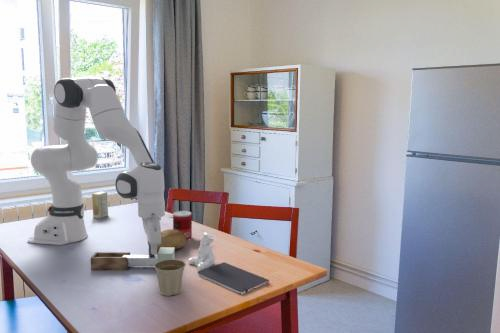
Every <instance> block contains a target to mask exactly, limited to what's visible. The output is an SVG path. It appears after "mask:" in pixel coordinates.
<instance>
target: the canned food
mask: <svg viewBox="0 0 500 333" xmlns="http://www.w3.org/2000/svg"><path fill="white" fill-rule="evenodd" d="M192 216H193V215H192V212H191V211H188V210H178V211H175V212H173V214H172V229H174V230H179V231H181V232H183V233H184V234H185V236H186V242H187V241H190V240H192V236H193V234H192V232H193V229H192V228H193V226H192V225H193V220H192Z"/></svg>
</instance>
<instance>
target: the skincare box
mask: <svg viewBox="0 0 500 333" xmlns="http://www.w3.org/2000/svg"><path fill="white" fill-rule="evenodd" d="M91 196H92V197H91V198H92V217H93V219H103V218H105V217H108V216H109V206H108V192H107V191H103V190H102V191H97V192H94V193H92V194H91Z"/></svg>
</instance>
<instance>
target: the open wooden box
mask: <svg viewBox="0 0 500 333" xmlns="http://www.w3.org/2000/svg"><path fill="white" fill-rule="evenodd" d="M123 255H131V252H130V251H129V252H127V251H125V252H124V251H123V252H122V251H121V252H119V251H117V252H116V251H111V252H110V251H107V252H106V251H105V252H102V251H99V252H98V251H97V252H96V251H95V252H94V253H93V254H92V256H91V257H90V271H128V269H129V268H130V266H127V257H123Z"/></svg>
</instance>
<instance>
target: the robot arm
mask: <svg viewBox="0 0 500 333" xmlns="http://www.w3.org/2000/svg"><path fill="white" fill-rule="evenodd" d="M53 94H54V98H55V100H56V104H55V110H54V119H53V121H54V122H53V131H54V134H55V135H56V136H57V137H58V138H60V139H61V140H64V141H66V144H55V145H46V146H42V147H37V148H35V149H34V151H32V152H31V155H30V164H31V167H32V168H33V170H34V171H36V172H37V173H39V174H41V175H42V177H44V178H45V179H46V180H47V181H48V184H49V186H50V189H51V193H52V204H51V205H50V206H49V207H48V208H47V209H46V210H47V211H46V212H48V214H47V216H45V217H44V218H43V219H41V220H40V221H39V222H38V223H37V224H36V225H35V226H34V230H33V231H34V232H33V234H32V235H30V236H29V237H28V239H27V241H28V243H29V244H41V245H42V244H43V245H54V246H55V245H56V246H63V245H64V246H65V245H66V244H70V243H76V242H79V241H83V240H85V239H86V238H88V236H89V235H88V232H87V229H86V225H85V220H84V216H85V209H84V208H85V207H84V203H83V193H82V192H83V190H82V186H81V184H80V183H79V182H77V181H75V180H73V179H70V178H69V177H68V174H67V173H69V172H77V171H85V170H89V169H92V168H94V167H95V166H96V165H97V162H98V160H99V155H98V151H97V149H96V148H95V147H94V146H93V145H92V144H90V143H89V142H88V141H87V138H86V135H85V133H86V132H85V127H86V126H85V124H86V116H87V108H88V109H89V111H90V115H91V119H92V122H93V124H94V128H95V129H96V130H95V131H96V132H97V133H98V134H99V135H100V137H102V138H103V139H106V140H108V141H111V142H115V143H117V144H120V145H122V146H123V147H126V148H127V149H128V150H129V152H130V153H131V156H132V157H133V159H134V161H135V164H136V165H137V166H136V167H135V168H132V169H130V170H129V169H128V170H125V171H123V172H121V173H119V174H118V175H117V177H116V179H115V191H116V192H117V194H118V195H119V197H121V198H123V199H126V200H127V199H134V198H135V199H137V214H138V217H139V218H141V221H142V225H143V230H144V232H145V235H146V239H147V245H148V246H149V243H150V245H151V254H152V255H157V246H158V245H159V244H161V232H162V228H161V222H160V221H161V220H162V218H163V217H164V216H165V215H166V214H165V212H166V210H165V208H166V207H165V205H166V202H165V197H164V192H165V175H164V170H163V168H162V166H161V165H160V164H158V163H156V162H155V161H154V159H153V157H152V156H151V153H150V152H149V149H148V147H147V145H146V143H145V140H143V137H142V135H141V134H140V133H139V131H138V130H137V129H136V128H135V127H134V126H133V125H132V123H131V122H130V120H129V119H128V117H127V115H126V113H125V111H124V108H123V104H122V103H121V101H120V99H119V96H118V95H117V89H116V87H115V84H114V82H113V81H112V80H111V79H109V78H106V77H103V76H102V77H101V76H98V77H95V76H79V77H65V78H61V79H59V80H58V81H57V82H56V84H55V85H54V90H53Z"/></svg>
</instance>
